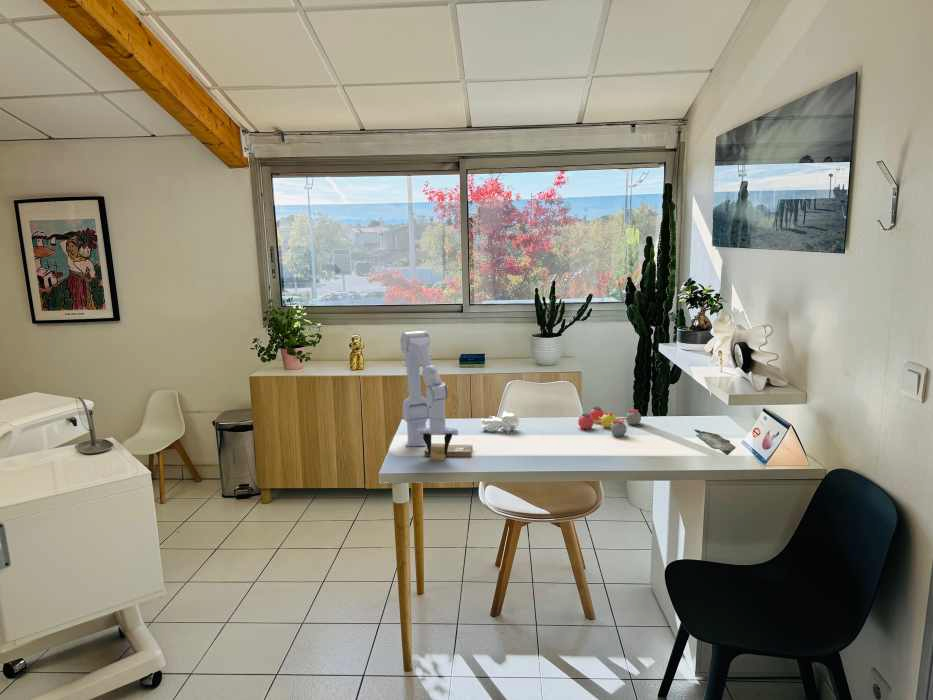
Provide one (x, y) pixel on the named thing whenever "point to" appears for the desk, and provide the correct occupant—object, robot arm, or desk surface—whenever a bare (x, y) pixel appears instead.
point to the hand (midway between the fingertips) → (438, 454)
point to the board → (456, 450)
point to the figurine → (501, 422)
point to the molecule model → (609, 420)
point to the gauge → (437, 451)
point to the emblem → (715, 441)
